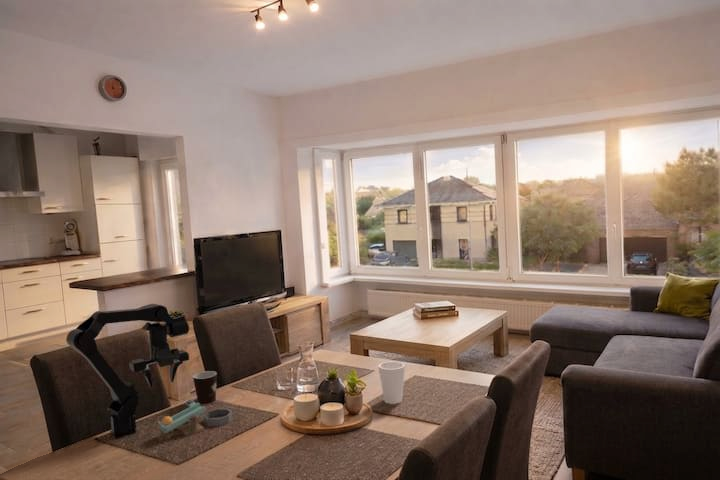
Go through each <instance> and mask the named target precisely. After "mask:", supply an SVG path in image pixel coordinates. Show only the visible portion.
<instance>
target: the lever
mask: <svg viewBox="0 0 720 480" xmlns="http://www.w3.org/2000/svg"><path fill="white" fill-rule="evenodd" d="M184 404H185V405H186V406H188V407H187V408H186V409H184V410H182V411H180V412H178V413H176V414H173V416H170V417H171V418H172V420H173V422H172V424H170V425H168V426H166V427H165V425H164V424H162V421H161V420H159V421H158V422H157V424H158V426H159V428H160V429H159V430H160V431H161V430H162V431H163V432H164V433H167V432H170V431H172V430H175V429H176V427H178V426H180V425H182V424H184V423H185V422H187V421H190V417H193V416H195V417H196V418H197V417H198V416H201V415H202V414H205V412H206V413H207V411H206V410H207V409H206V406H204V405H203V406H201V404H200V403H199V402H198V401H197V402H196V401H194V399H193V398H191V399H188V400H186V401H185V402H184Z"/></svg>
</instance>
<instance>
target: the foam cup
mask: <svg viewBox="0 0 720 480" xmlns="http://www.w3.org/2000/svg"><path fill="white" fill-rule="evenodd" d="M405 372H406V367H405V363H404V362H402V361H394V360H391V361H390V360H389V361H384V362H381V363H379V364H378V375H379V378H380V383H381V384H380V385H381V388H382V389H381V390H382V395H383V399H384V400H383V401H384V403H385V404H388V403H389V405H398V404H400V403H402V402H403V393H404V383H405V382H404V379H405ZM401 401H402V402H401ZM397 403H398V404H397Z"/></svg>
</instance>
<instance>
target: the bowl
mask: <svg viewBox="0 0 720 480" xmlns="http://www.w3.org/2000/svg"><path fill="white" fill-rule="evenodd" d="M202 417H203V418H202V419H203V424H204V425H206V426H207V427H221V426H223V425H226V424H229V423H230V422H231V421H232V420H233V411H232V410H231V409H229V408H215V409H212V410H208V411H206V413H204V415H203V416H202Z"/></svg>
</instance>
